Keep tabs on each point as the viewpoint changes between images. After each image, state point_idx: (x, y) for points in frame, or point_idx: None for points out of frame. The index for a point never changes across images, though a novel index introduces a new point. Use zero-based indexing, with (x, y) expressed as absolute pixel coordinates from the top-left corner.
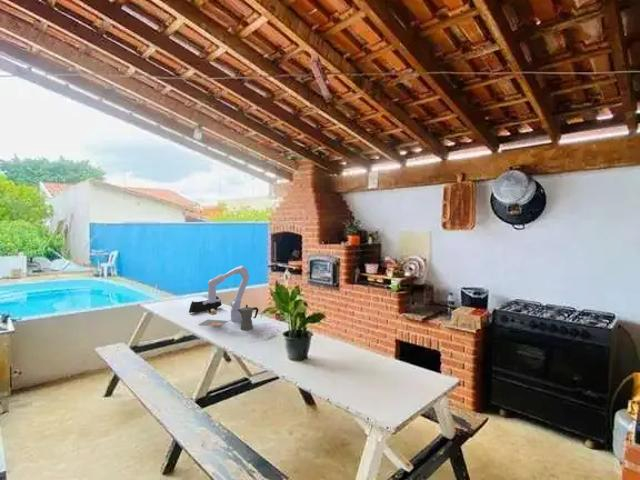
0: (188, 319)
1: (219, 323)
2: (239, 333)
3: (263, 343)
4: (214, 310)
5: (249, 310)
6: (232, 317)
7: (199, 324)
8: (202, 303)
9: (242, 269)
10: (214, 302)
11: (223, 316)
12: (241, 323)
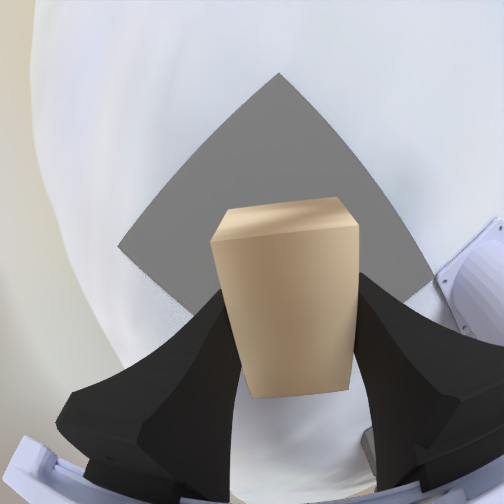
0: None
1: None
2: (320, 457)
3: (320, 494)
4: (317, 376)
5: None
6: (467, 315)
7: (137, 235)
8: None
9: None
10: (386, 500)
11: (471, 68)
12: (373, 457)
